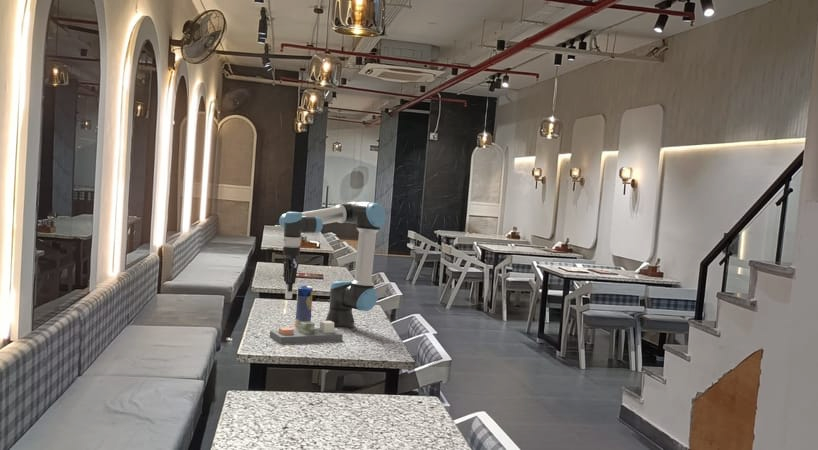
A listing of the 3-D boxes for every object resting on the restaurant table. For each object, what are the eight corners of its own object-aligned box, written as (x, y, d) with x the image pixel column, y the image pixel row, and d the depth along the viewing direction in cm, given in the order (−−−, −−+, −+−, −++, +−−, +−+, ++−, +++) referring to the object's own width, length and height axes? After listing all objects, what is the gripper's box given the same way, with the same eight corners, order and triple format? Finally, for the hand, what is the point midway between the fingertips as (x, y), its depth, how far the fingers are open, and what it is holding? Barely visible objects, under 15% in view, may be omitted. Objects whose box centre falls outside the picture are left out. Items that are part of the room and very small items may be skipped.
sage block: (309, 332, 332) (310, 321, 332) (313, 334, 328) (314, 323, 328) (299, 332, 330) (300, 321, 329) (303, 334, 325) (304, 324, 325)
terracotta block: (288, 338, 327) (289, 327, 327) (292, 340, 323) (293, 329, 323) (278, 338, 325) (279, 327, 324) (282, 341, 320) (283, 330, 320)
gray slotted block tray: (329, 336, 343) (330, 327, 342) (342, 342, 331) (342, 334, 330) (269, 339, 327) (270, 330, 327) (280, 346, 315) (281, 337, 315)
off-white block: (329, 331, 337) (330, 320, 337) (333, 333, 333) (334, 322, 333) (319, 331, 335) (320, 321, 335) (323, 333, 331) (324, 323, 330)
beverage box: (308, 330, 352) (311, 286, 351) (309, 335, 341) (312, 289, 340) (294, 329, 351) (297, 285, 350) (295, 334, 340) (298, 288, 339)
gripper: (278, 244, 325) (275, 295, 326) (289, 247, 314) (285, 301, 315) (294, 244, 329) (291, 295, 330) (305, 248, 318) (301, 300, 319)
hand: (288, 298), depth 323 cm, fingers closed
